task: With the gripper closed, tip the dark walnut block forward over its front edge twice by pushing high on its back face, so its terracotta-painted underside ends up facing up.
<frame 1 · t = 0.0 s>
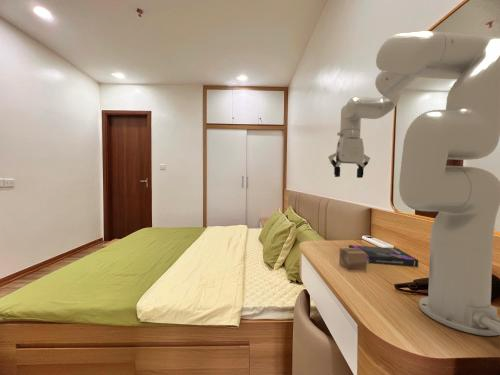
hand: (348, 177, 91), 31 cm above the table, tool pointing down, fingers open, 9 cm apart
walnut block: (352, 268, 74), on the table
box: (380, 260, 86), on the table
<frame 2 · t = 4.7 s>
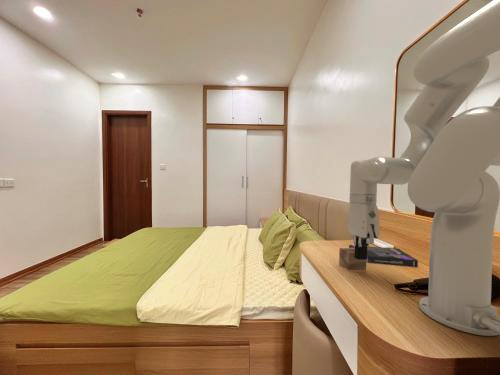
hand: (360, 258, 70), 5 cm above the table, tool pointing down, fingers closed
nothing on the table moved.
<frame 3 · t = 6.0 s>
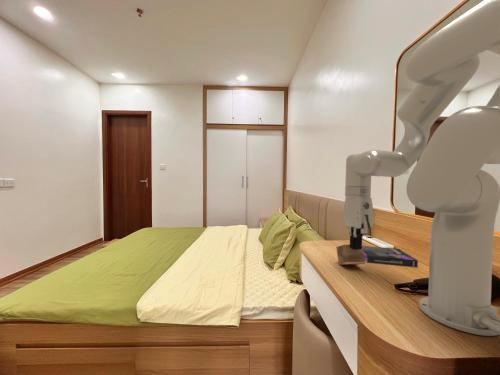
hand: (355, 248, 72), 7 cm above the table, tool pointing down, fingers closed
walnut block: (351, 264, 74), point 1 cm above the table, tilted 23°, touching gripper
everything else where it was.
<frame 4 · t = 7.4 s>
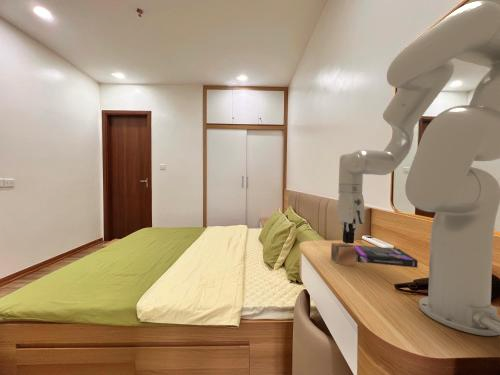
hand: (348, 242, 77), 8 cm above the table, tool pointing down, fingers closed
walnut block: (347, 256, 77), point 3 cm above the table, tilted 90°
everything else where it was.
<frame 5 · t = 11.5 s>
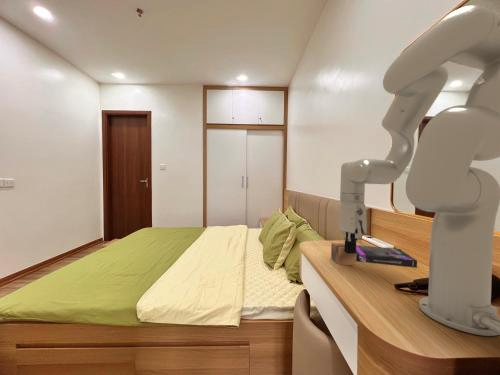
hand: (350, 252, 76), 5 cm above the table, tool pointing down, fingers closed
walnut block: (347, 256, 77), point 3 cm above the table, tilted 90°, touching gripper
everything else where it was.
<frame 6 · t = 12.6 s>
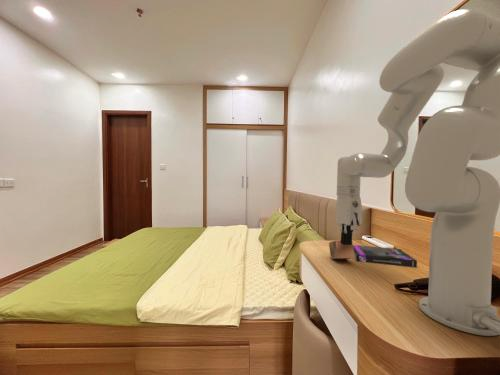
hand: (346, 244, 78), 7 cm above the table, tool pointing down, fingers closed
walnut block: (345, 249, 79), point 5 cm above the table, tilted 112°, touching gripper
everything else where it was.
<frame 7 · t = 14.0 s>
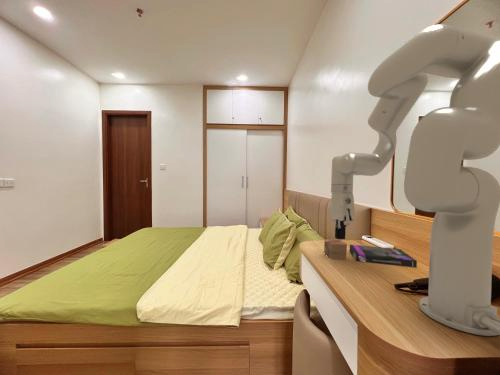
hand: (339, 238, 83), 8 cm above the table, tool pointing down, fingers closed
walnut block: (335, 241, 86), point 6 cm above the table, tilted 180°
everything else where it was.
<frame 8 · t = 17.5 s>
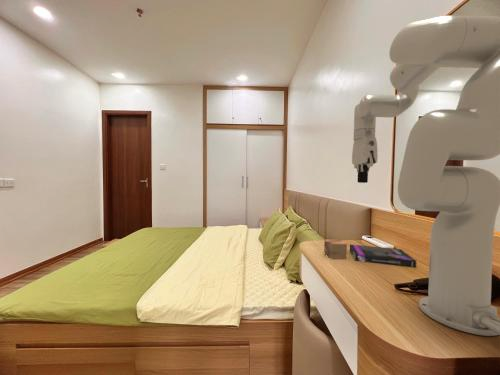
hand: (362, 182, 87), 29 cm above the table, tool pointing down, fingers closed
nothing on the table moved.
at the end: walnut block tilted 180°; walnut block inside the target area (0.9 cm from its centre), point 5.9 cm above the table; box moved 0.8 cm from its start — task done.
